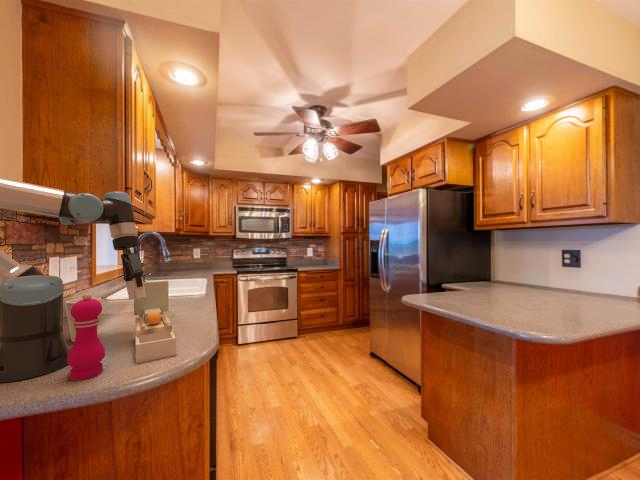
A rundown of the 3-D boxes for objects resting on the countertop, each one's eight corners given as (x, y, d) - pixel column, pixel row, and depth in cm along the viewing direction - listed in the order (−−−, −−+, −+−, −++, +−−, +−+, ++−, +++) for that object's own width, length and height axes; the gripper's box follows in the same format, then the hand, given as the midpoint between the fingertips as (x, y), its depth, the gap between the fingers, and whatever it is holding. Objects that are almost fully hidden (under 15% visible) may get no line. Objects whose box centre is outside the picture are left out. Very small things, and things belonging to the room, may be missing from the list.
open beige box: (135, 363, 75) (136, 345, 76) (135, 352, 83) (135, 335, 83) (175, 355, 81) (175, 338, 81) (171, 345, 89) (171, 329, 89)
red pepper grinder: (85, 343, 91) (85, 303, 91) (57, 343, 91) (57, 303, 91) (108, 334, 100) (108, 297, 100) (82, 334, 100) (82, 297, 100)
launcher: (136, 355, 81) (136, 327, 81) (135, 338, 95) (135, 314, 95) (171, 348, 86) (171, 322, 86) (165, 333, 100) (165, 311, 100)
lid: (134, 324, 87) (134, 286, 87) (133, 318, 94) (134, 282, 94) (170, 319, 92) (170, 283, 93) (167, 313, 100) (167, 280, 100)
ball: (146, 327, 85) (146, 313, 85) (145, 323, 88) (145, 311, 88) (161, 324, 87) (161, 311, 87) (160, 321, 90) (160, 309, 90)
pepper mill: (109, 372, 71) (110, 292, 71) (72, 384, 65) (72, 297, 65) (98, 365, 75) (98, 289, 75) (62, 376, 69) (63, 293, 69)
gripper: (145, 228, 90) (158, 293, 89) (131, 242, 108) (142, 296, 107) (116, 230, 85) (130, 300, 84) (107, 245, 103) (118, 302, 102)
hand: (137, 298), depth 95 cm, fingers open, 13 cm apart
